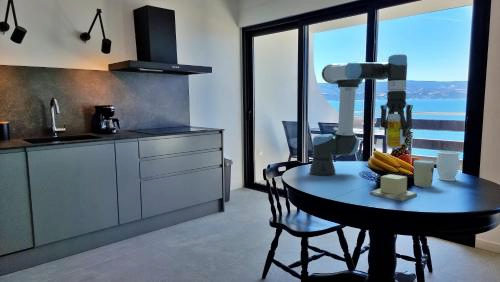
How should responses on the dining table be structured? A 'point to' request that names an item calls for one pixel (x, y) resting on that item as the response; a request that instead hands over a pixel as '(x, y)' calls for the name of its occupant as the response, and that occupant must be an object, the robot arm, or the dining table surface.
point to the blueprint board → (392, 196)
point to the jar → (447, 165)
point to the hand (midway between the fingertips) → (395, 143)
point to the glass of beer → (394, 131)
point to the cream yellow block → (393, 184)
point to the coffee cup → (423, 173)
